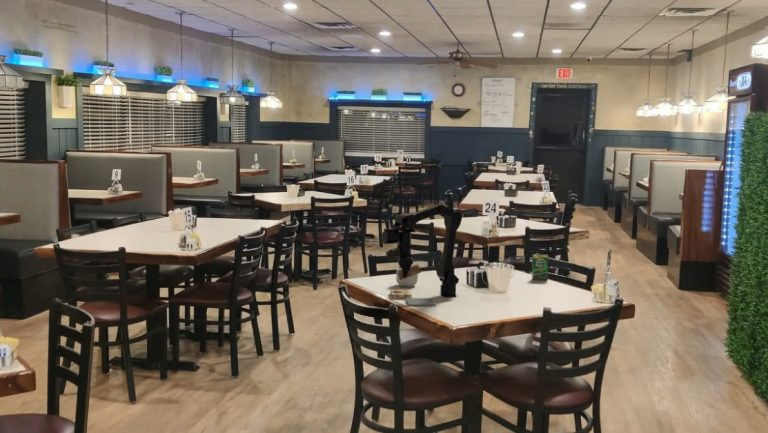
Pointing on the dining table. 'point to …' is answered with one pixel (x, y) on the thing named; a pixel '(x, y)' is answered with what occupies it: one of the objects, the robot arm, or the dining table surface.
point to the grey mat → (420, 302)
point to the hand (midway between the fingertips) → (404, 276)
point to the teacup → (407, 280)
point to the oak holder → (400, 294)
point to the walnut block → (410, 272)
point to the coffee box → (540, 267)
